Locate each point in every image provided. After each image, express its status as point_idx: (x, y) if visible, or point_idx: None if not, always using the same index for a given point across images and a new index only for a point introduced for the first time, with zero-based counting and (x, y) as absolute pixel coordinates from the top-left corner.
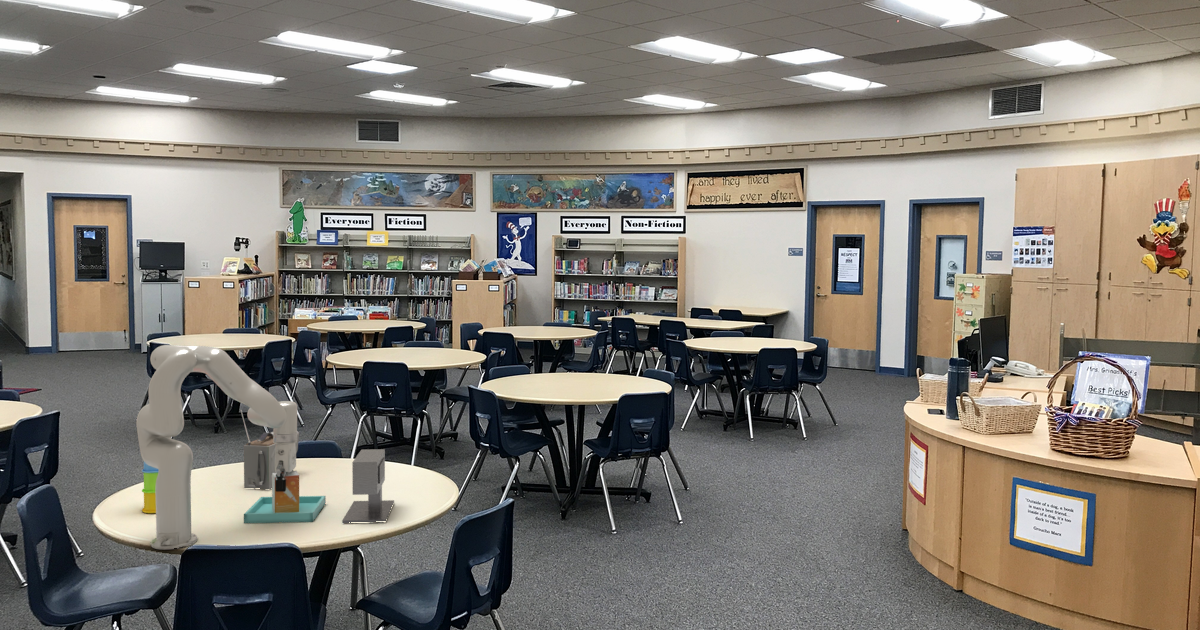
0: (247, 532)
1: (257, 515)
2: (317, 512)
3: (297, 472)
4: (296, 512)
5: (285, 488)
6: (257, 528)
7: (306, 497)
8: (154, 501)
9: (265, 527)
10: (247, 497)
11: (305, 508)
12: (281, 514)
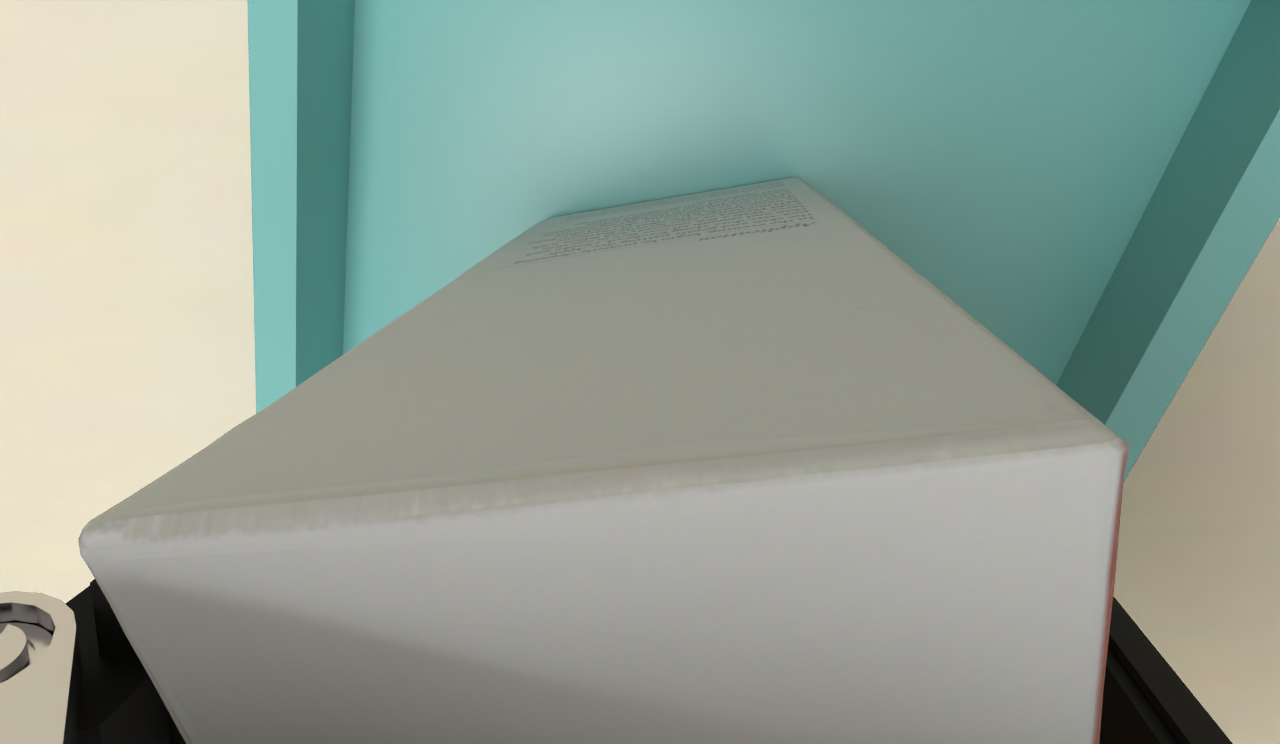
0: (1252, 696)
1: None
2: None
3: (477, 511)
4: (1222, 230)
5: (1140, 635)
6: (1163, 618)
7: (303, 66)
8: None
9: (1175, 550)
10: None
11: (639, 82)
12: (1138, 440)
